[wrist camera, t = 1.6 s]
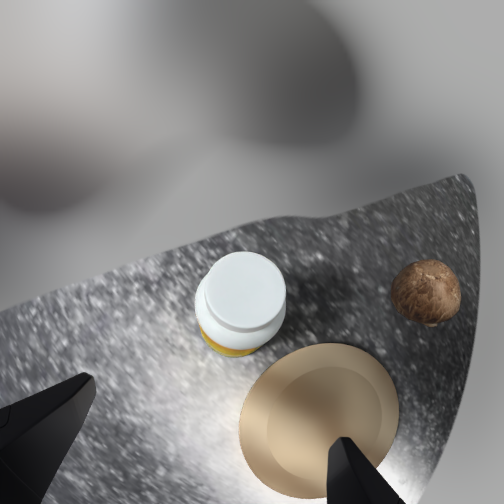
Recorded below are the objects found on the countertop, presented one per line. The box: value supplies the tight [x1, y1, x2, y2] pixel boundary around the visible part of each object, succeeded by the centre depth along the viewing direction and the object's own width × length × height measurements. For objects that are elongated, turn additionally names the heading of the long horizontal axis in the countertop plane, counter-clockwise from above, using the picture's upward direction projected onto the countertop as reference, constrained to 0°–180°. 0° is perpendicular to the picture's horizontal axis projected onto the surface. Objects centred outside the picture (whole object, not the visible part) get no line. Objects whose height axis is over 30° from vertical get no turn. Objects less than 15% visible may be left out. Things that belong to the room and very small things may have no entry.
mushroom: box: [391, 259, 461, 327], centre depth 23 cm, size 8×8×6 cm
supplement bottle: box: [195, 252, 286, 358], centre depth 17 cm, size 5×5×10 cm
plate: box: [239, 343, 399, 499], centre depth 18 cm, size 14×14×1 cm
